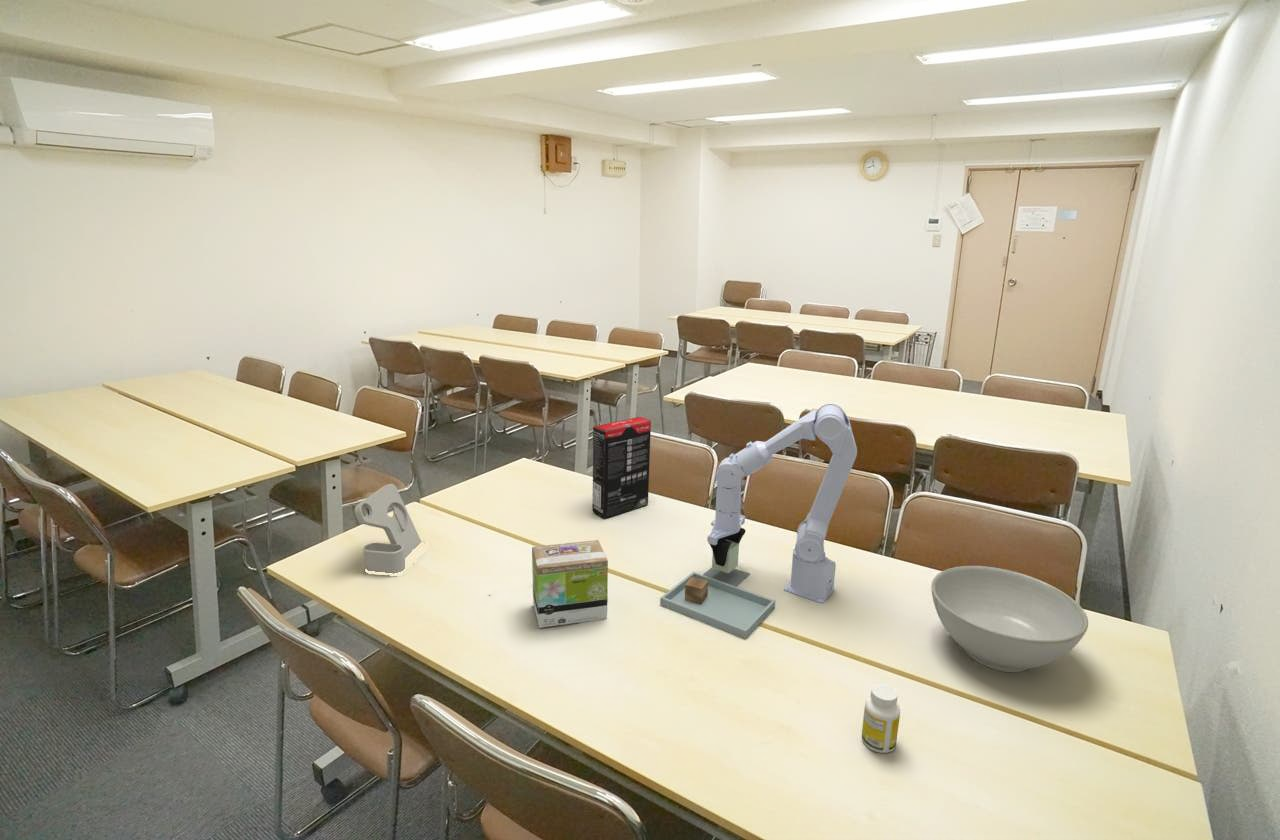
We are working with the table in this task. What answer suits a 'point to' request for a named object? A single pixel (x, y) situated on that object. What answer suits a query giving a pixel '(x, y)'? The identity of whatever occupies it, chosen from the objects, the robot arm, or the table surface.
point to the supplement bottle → (881, 719)
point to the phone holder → (388, 530)
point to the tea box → (569, 583)
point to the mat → (727, 576)
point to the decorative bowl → (1007, 617)
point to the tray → (721, 606)
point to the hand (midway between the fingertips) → (725, 560)
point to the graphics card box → (621, 466)
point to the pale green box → (728, 559)
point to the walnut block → (696, 590)
